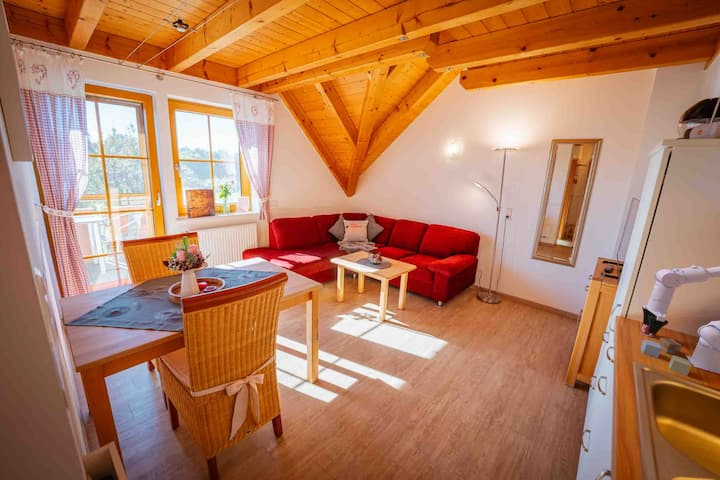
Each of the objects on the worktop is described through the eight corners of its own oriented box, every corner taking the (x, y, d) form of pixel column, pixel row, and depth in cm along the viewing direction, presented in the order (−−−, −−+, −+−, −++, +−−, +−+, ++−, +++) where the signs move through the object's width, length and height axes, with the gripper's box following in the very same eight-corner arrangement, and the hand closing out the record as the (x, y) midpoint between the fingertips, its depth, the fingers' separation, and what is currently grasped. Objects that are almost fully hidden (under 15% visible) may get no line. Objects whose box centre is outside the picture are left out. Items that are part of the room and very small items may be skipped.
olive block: (685, 370, 110) (689, 360, 109) (686, 376, 107) (691, 366, 106) (668, 364, 113) (672, 354, 112) (669, 370, 110) (674, 360, 109)
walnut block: (668, 348, 124) (672, 339, 123) (677, 354, 120) (682, 345, 119) (656, 346, 125) (660, 337, 123) (665, 353, 120) (669, 344, 119)
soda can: (636, 330, 136) (645, 307, 133) (647, 331, 136) (656, 308, 133) (646, 337, 131) (656, 313, 128) (658, 337, 131) (667, 314, 128)
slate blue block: (640, 348, 123) (643, 339, 121) (654, 352, 120) (658, 343, 119) (642, 353, 119) (646, 344, 118) (657, 358, 117) (661, 348, 115)
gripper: (642, 289, 122) (632, 318, 126) (651, 302, 111) (640, 333, 114) (665, 294, 119) (654, 323, 123) (677, 308, 107) (665, 340, 111)
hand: (649, 329), depth 118 cm, fingers open, 7 cm apart
